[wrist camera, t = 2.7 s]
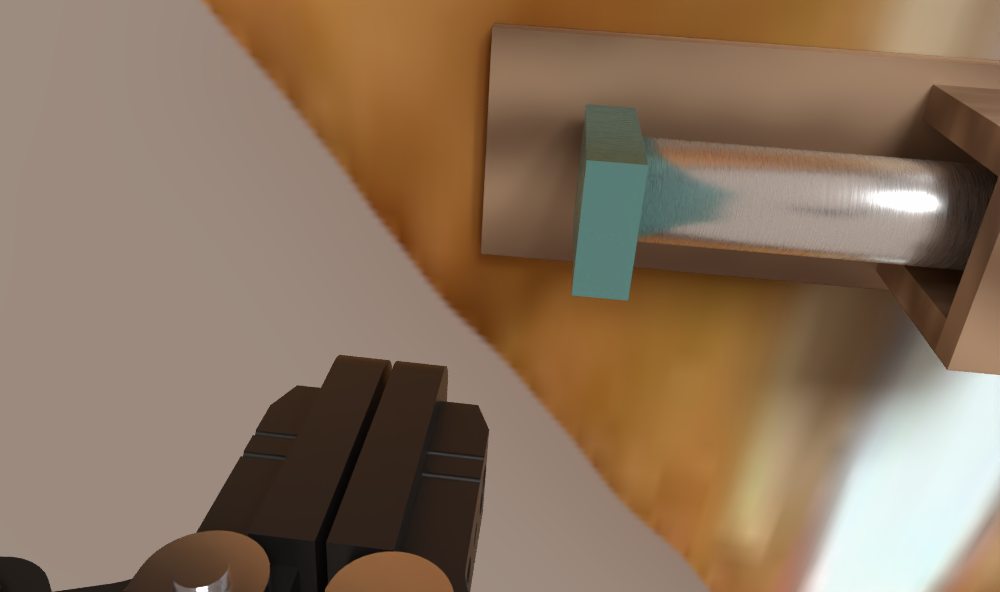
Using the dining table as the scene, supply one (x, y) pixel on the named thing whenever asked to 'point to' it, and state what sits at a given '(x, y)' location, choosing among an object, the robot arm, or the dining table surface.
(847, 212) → the slip tube
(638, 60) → the rail board
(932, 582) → the dining table surface
